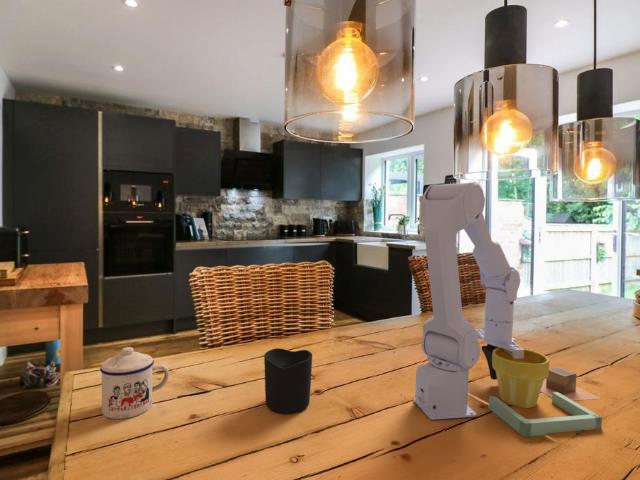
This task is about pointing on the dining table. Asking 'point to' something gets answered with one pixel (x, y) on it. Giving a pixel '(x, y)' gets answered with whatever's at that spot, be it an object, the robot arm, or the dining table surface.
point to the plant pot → (520, 376)
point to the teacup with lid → (128, 384)
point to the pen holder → (287, 380)
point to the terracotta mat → (574, 396)
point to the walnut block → (561, 380)
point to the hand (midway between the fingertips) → (495, 378)
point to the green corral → (541, 426)
